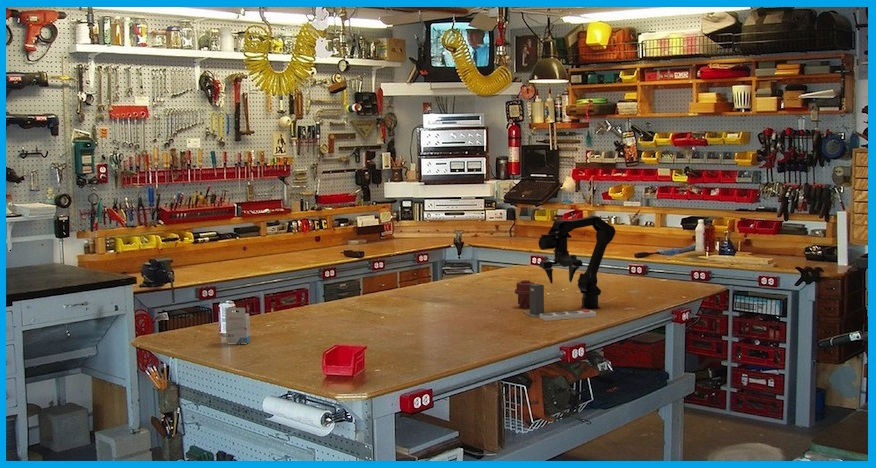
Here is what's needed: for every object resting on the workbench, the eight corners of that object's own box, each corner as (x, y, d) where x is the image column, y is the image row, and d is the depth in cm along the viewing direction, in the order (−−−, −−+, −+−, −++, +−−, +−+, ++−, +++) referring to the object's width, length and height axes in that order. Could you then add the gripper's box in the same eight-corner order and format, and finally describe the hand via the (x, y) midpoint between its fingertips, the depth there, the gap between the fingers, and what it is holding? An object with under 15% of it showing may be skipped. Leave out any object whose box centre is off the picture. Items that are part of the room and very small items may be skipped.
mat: (541, 312, 461) (541, 311, 461) (548, 315, 453) (548, 314, 453) (525, 313, 459) (525, 312, 459) (531, 316, 451) (531, 316, 451)
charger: (538, 312, 459) (538, 283, 458) (543, 314, 455) (543, 284, 454) (529, 313, 457) (529, 284, 455) (535, 315, 453) (535, 285, 451)
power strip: (589, 314, 455) (589, 308, 455) (595, 316, 449) (596, 310, 449) (539, 318, 448) (539, 311, 448) (545, 320, 442) (545, 314, 442)
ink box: (250, 342, 409) (249, 305, 407) (247, 344, 404) (245, 307, 402) (230, 341, 410) (228, 305, 408) (226, 344, 405) (224, 307, 403)
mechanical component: (537, 305, 478) (535, 309, 468) (516, 305, 480) (513, 309, 470) (537, 279, 476) (535, 282, 466) (516, 278, 478) (513, 282, 468)
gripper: (548, 251, 449) (548, 286, 451) (587, 249, 455) (587, 284, 456) (538, 248, 460) (539, 283, 461) (577, 246, 465) (577, 280, 467)
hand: (561, 282), depth 461 cm, fingers open, 9 cm apart
